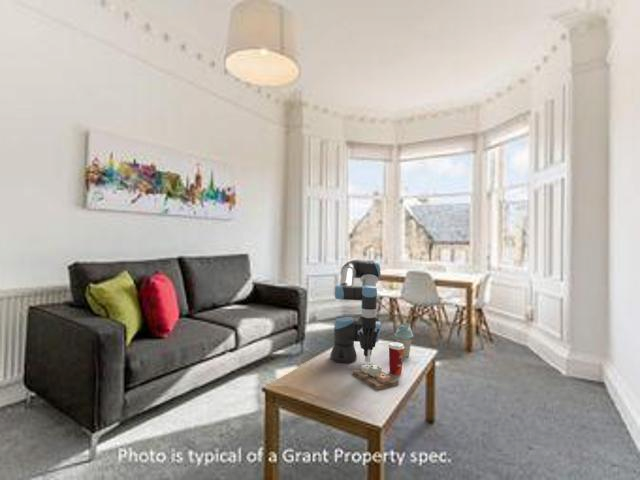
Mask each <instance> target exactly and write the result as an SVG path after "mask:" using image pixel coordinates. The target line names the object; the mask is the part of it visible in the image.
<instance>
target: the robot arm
mask: <svg viewBox="0 0 640 480" xmlns="http://www.w3.org/2000/svg"><path fill="white" fill-rule="evenodd" d="M340 276H341V277H340V278H341V279H340V282H339V285H335V286H334V297H335V299H336V300H341V301H343V300H344V301H346V300H347V301H361V306H360V307H361V308H360V309H361V313H360V314H361V315H360V316H359V317H358V320H356V319H355V317H351V316H345V317H344V316H342V317H339V318H337V319H335V321H334V324H333V325H334V326H333V346H332V347H331V348H332V349H331V352H330V360H331V361H333V362H335V363H341V364H350V363H354V362H356V361H357V356H358V355H357V352H356V351H357V350H356V348H355V343H356V342H358V343H359V346H360V349H363V356H364V362H366V363H371V356H372V351H373V350H374V348H375V347H376V344H377V343H379V341H380V335H381V327H382V322H381V321H380V319H379V317H377V300H378V299H377V298H378V290H377V283H378V282H379V280H380V279H381V278H382V277H381V276H382V275H381V265H380V262H379V261H378V260H371V259H370V260H362V259H359V260H358V259H353V260H350V261H348V262H346V263H345V264H344V265H343V266H342V267H341V270H340ZM354 279H359V281H360V282H361V285H360V286H359V285H354V281H355V280H354Z"/></svg>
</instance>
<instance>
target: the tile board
mask: <svg viewBox="0 0 640 480" xmlns="http://www.w3.org/2000/svg"><path fill="white" fill-rule="evenodd" d="M382 373H385V374H386V375H388V376H390V382H386V383H381V382H379V381H377V377H373V376H371V375H369V373H368V374H366V373H364V372H362V371H361V368H358V369H353V370H352V375H353V377H356V378H358V379H359V380H360V381H362V382H364V383H365V384H367V385H368V386H370V387H372V388H373V389H375V390H377V391H379V390H383V389H388V388H391V387H394V386H399V383H400V382H399V379H397V378H395V377H393V376H391V375H390V374H388V373H386V372H384V371H382V370H381V374H382Z"/></svg>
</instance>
